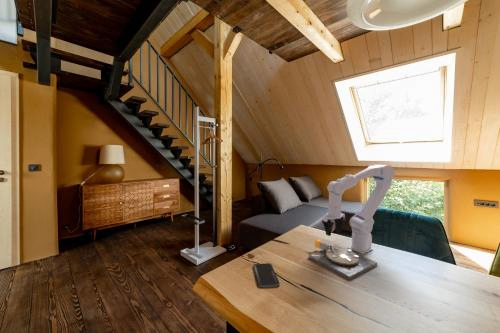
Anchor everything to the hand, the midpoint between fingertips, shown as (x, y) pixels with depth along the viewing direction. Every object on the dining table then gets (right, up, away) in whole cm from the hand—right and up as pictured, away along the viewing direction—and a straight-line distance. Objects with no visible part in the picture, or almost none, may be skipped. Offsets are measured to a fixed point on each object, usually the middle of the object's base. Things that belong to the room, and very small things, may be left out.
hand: (333, 233), depth 104 cm
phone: (-35, -10, -21) cm, 42 cm away
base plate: (0, -9, -10) cm, 14 cm away
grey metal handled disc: (-2, -7, -7) cm, 10 cm away
